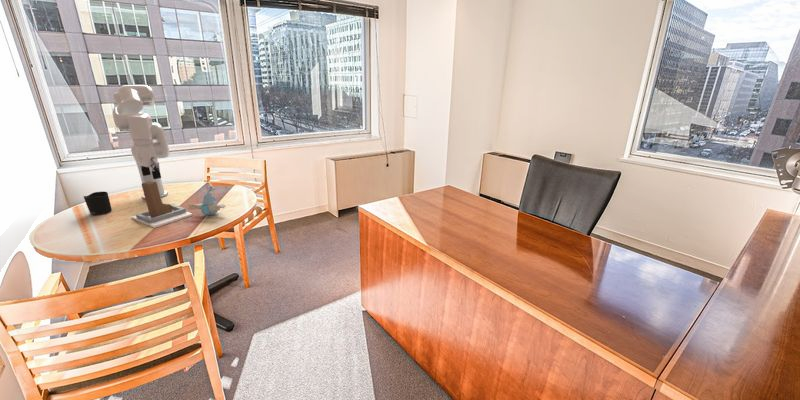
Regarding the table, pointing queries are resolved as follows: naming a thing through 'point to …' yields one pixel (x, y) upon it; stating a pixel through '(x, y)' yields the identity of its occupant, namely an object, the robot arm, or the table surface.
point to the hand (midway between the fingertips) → (152, 176)
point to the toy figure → (208, 203)
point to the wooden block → (154, 200)
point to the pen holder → (98, 203)
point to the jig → (162, 217)
